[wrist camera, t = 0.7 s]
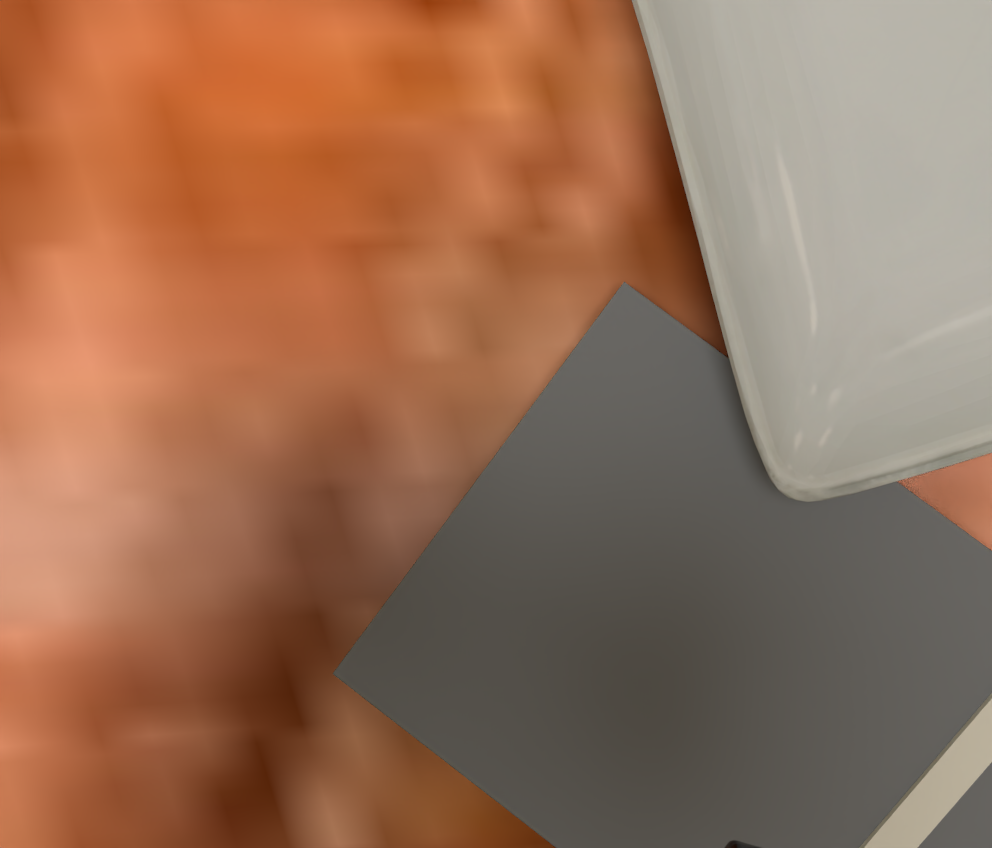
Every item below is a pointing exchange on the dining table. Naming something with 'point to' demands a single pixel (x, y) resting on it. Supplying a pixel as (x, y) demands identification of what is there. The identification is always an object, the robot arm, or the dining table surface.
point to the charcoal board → (690, 627)
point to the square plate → (841, 223)
